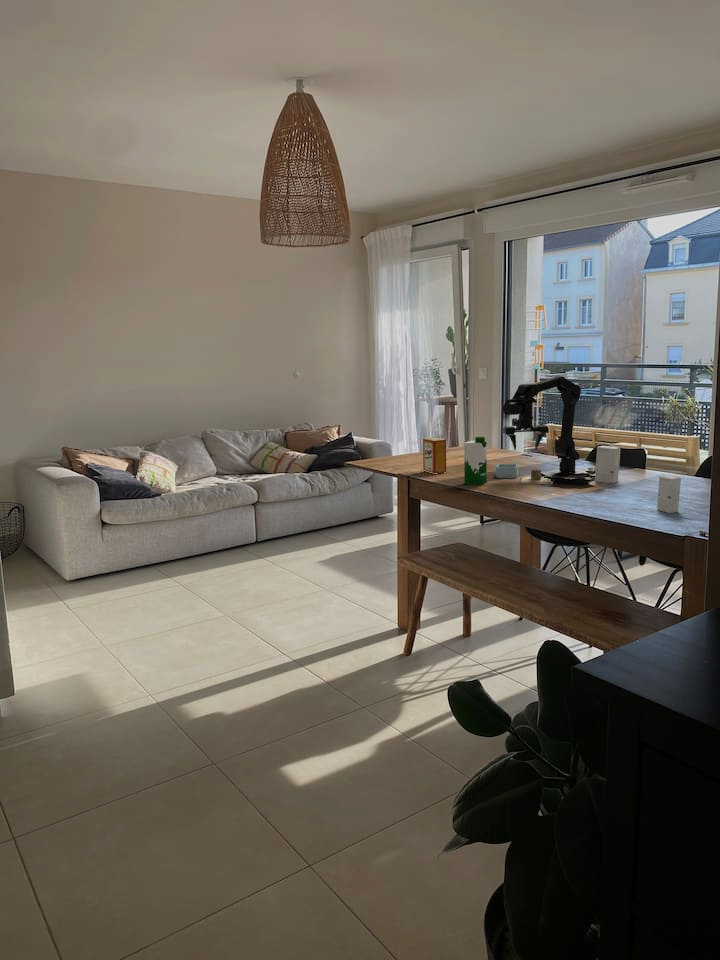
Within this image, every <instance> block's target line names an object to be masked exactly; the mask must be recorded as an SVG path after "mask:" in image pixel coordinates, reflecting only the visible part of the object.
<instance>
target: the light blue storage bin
mask: <svg viewBox="0 0 720 960" xmlns="http://www.w3.org/2000/svg"><path fill="white" fill-rule="evenodd" d="M518 476H519V464H518V463H497V465H496V466H495V478H497V479H498V478H499V479H506V478H507V479H517V478H518Z"/></svg>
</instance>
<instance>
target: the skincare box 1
mask: <svg viewBox="0 0 720 960" xmlns="http://www.w3.org/2000/svg"><path fill="white" fill-rule="evenodd" d="M620 460H621V447H618V446H612V445H611V446H609V445H600V446H597V447H596V459H595V471H594V472H595V473H594V482H596V483H607V484H615V483H617V482H619V476H620V475H619V472H620V463H621V462H620Z"/></svg>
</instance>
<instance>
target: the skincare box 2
mask: <svg viewBox="0 0 720 960" xmlns="http://www.w3.org/2000/svg"><path fill="white" fill-rule="evenodd" d="M681 480H682V478H681V477H678V476H673V475H670V474H669V475H667V474H666V475H661V476H659V478H658V489H657V491H658V492H657V493H658V494H657V503H656V510H657V511H661V512H664V513H668V514H672V513H678V512H679V507H680V505H679V504H680V495H681V494H680V493H681V483H682V481H681Z"/></svg>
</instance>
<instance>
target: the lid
mask: <svg viewBox="0 0 720 960" xmlns="http://www.w3.org/2000/svg"><path fill="white" fill-rule="evenodd" d="M544 477H545V476H542V469H541V468H539V469H538V468H531V471H530V476H522V477H521V478H522V480H521V483H526V484H525V485H547V484H550V482H551V479H548V478H544Z"/></svg>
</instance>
